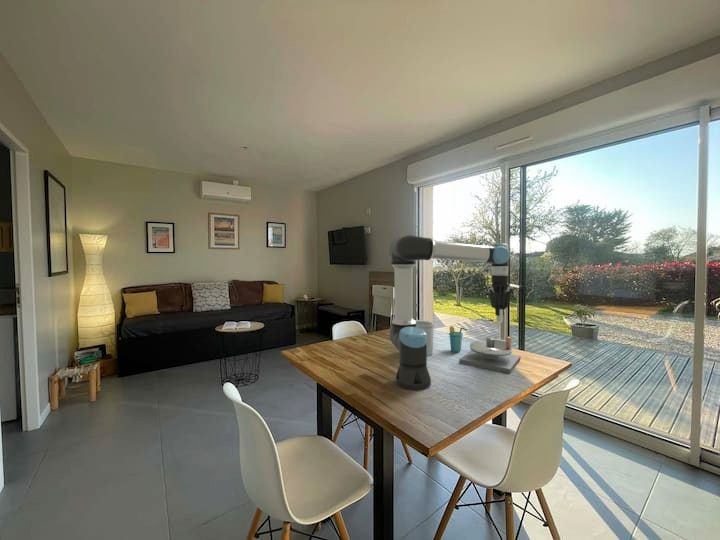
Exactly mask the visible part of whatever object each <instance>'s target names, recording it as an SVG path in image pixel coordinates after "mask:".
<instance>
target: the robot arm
mask: <svg viewBox="0 0 720 540" xmlns="http://www.w3.org/2000/svg"><path fill="white" fill-rule="evenodd" d="M388 253H389V256H390V265H391V266H392V267H393V269H394V318H393V320H391V329H390V330H389V338H390V341H391V343H392V345H393V346H395V348H396V349H397V350H398V352H399V365H398V368H397V372H396V373H395V374H396V376H395V384H396V386H398V387H399V388H402V389H404V390H408V391H422V390H427V389H428V388H430V387H431V386H432V380H431V375H430V372H429V370H428V366H427V363H428V361H427V360H428V359H427V358H428V356H427V337H426V332H425V331H424V330H422V329H420V328H417V327H416V321H415V319H414V303H413V302H414V291H413V290H414V289H413V288H414V287H413V286H414V285H413V284H414V280H413V279H414V277H413V276H414V272H413V271H414V270H413V269H414V267H416V265H417V261H430V260H431V259H435V260H448V261H450V260H451V261H461V262H462V261H463V262H469V263H471V264H491V287H490V288H488V289H486V291H487V293H488V296H489V300H490V305H491V308H493V309H494V310H495V312H494V313H495V316H496V323H500V324H503V322H504V315H505V310H506V308H507V309H508V307H509V303H510V299H511V295H512V294H511V293H512V292H513V288H510V287H509V285H508V283H509V276H508V274H509V259H510V257H511V253H510V250H509V245H508V244H507V243H493V244H491V246H490V245H480V244H469V243H459V242H451V241H450V242H449V241H436V240H434V239H433V238H431V237H423V236H417V235H412V234H406V235H403V236H398V237H396V238H395V239H393V240H392V241H391V243H390V244H389V247H388Z"/></svg>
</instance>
